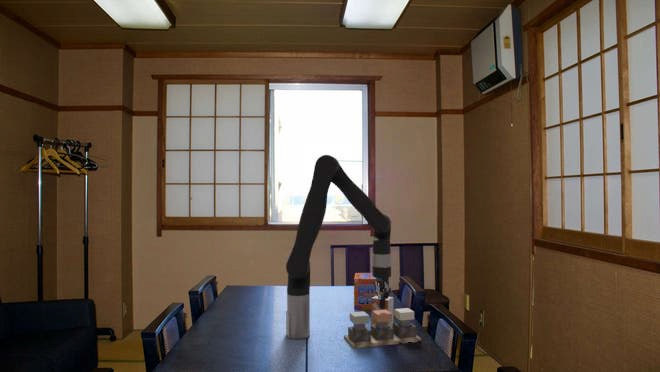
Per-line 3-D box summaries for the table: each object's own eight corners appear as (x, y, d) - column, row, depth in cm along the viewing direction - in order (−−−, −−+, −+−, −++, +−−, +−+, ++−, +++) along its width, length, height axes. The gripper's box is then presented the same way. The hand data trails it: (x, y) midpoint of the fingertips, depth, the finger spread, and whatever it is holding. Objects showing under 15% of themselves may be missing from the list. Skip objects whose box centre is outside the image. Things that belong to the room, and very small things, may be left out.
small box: (370, 328, 198) (370, 297, 198) (376, 324, 204) (376, 294, 204) (388, 331, 194) (388, 300, 194) (393, 327, 200) (393, 296, 200)
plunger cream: (400, 330, 182) (400, 312, 182) (394, 326, 188) (394, 309, 188) (414, 329, 184) (414, 311, 184) (407, 325, 189) (407, 307, 189)
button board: (353, 348, 174) (353, 334, 174) (343, 338, 185) (343, 325, 185) (421, 341, 181) (421, 328, 181) (408, 332, 193) (408, 319, 193)
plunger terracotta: (377, 332, 180) (377, 314, 180) (372, 328, 185) (372, 310, 185) (392, 331, 181) (391, 313, 181) (386, 326, 187) (386, 309, 187)
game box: (385, 310, 226) (385, 278, 226) (353, 310, 228) (353, 278, 228) (385, 302, 242) (384, 272, 242) (355, 302, 243) (355, 272, 243)
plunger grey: (354, 334, 177) (354, 316, 177) (349, 330, 183) (349, 312, 183) (369, 333, 179) (369, 315, 179) (364, 328, 184) (364, 311, 184)
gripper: (367, 262, 189) (367, 305, 189) (378, 268, 176) (379, 313, 176) (384, 261, 191) (384, 303, 191) (397, 267, 178) (397, 312, 178)
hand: (382, 308), depth 183 cm, fingers closed
